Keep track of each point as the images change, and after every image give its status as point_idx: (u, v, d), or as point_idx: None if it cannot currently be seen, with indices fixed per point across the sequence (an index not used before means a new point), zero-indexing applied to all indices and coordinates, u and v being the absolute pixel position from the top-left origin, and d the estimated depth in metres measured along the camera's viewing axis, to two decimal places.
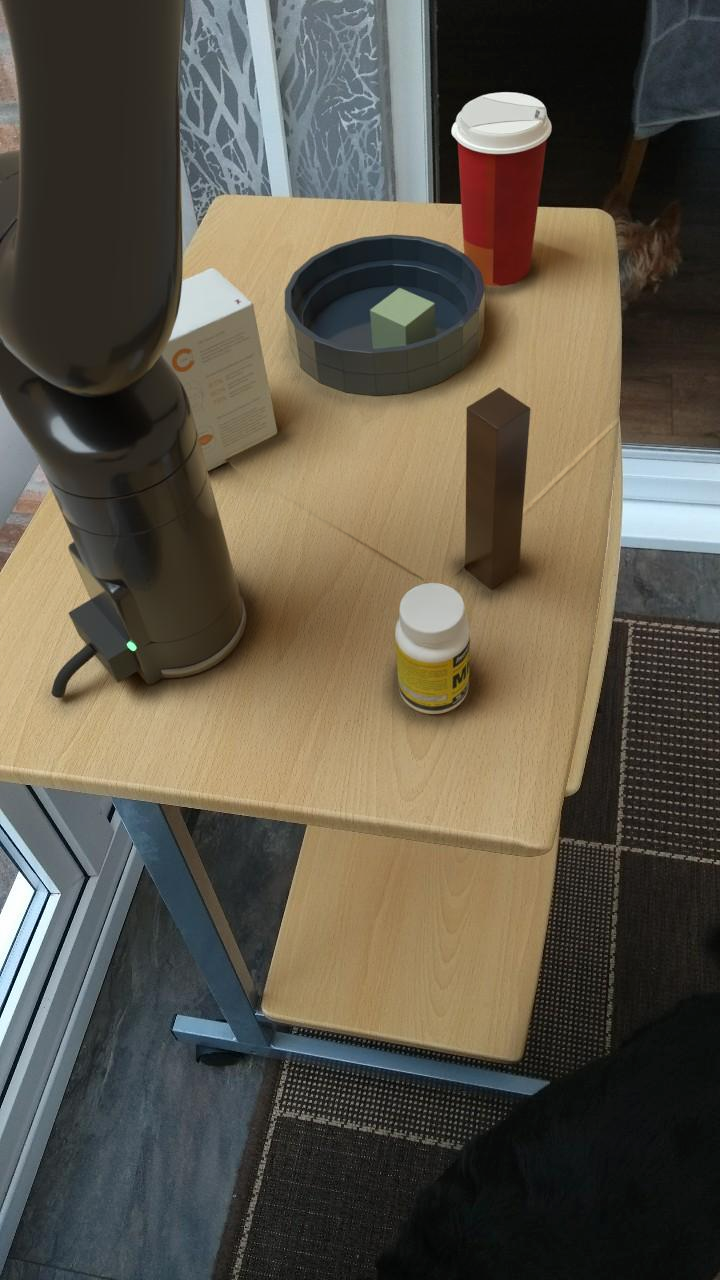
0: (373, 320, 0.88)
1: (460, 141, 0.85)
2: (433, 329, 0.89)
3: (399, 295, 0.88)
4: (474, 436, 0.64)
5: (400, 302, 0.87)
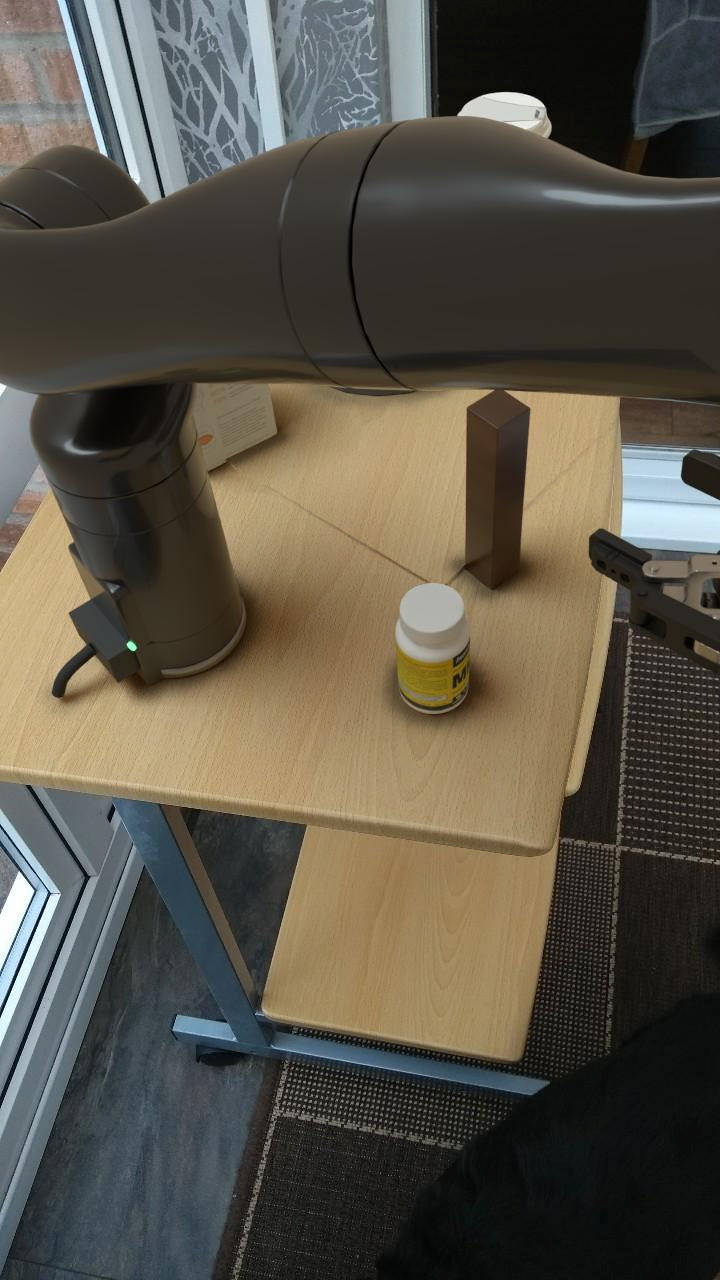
0: None
1: None
2: None
3: None
4: (474, 436, 0.64)
5: None
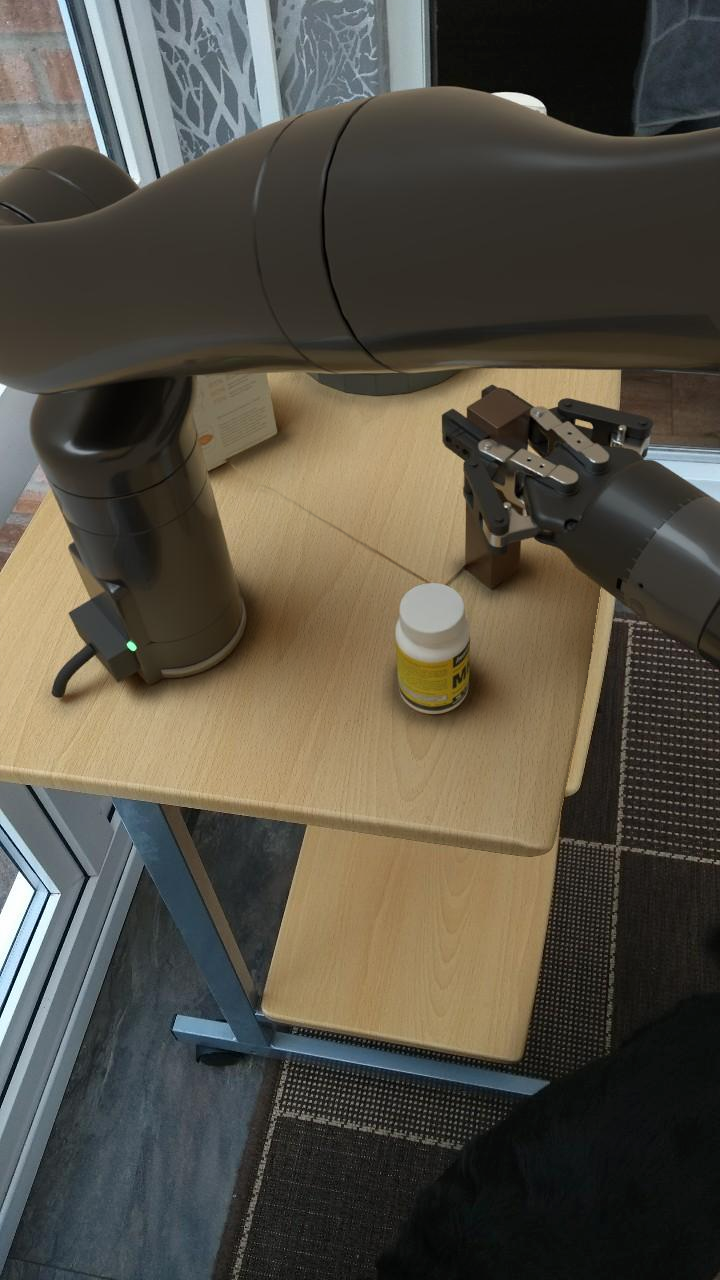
0: None
1: None
2: None
3: None
4: None
5: None
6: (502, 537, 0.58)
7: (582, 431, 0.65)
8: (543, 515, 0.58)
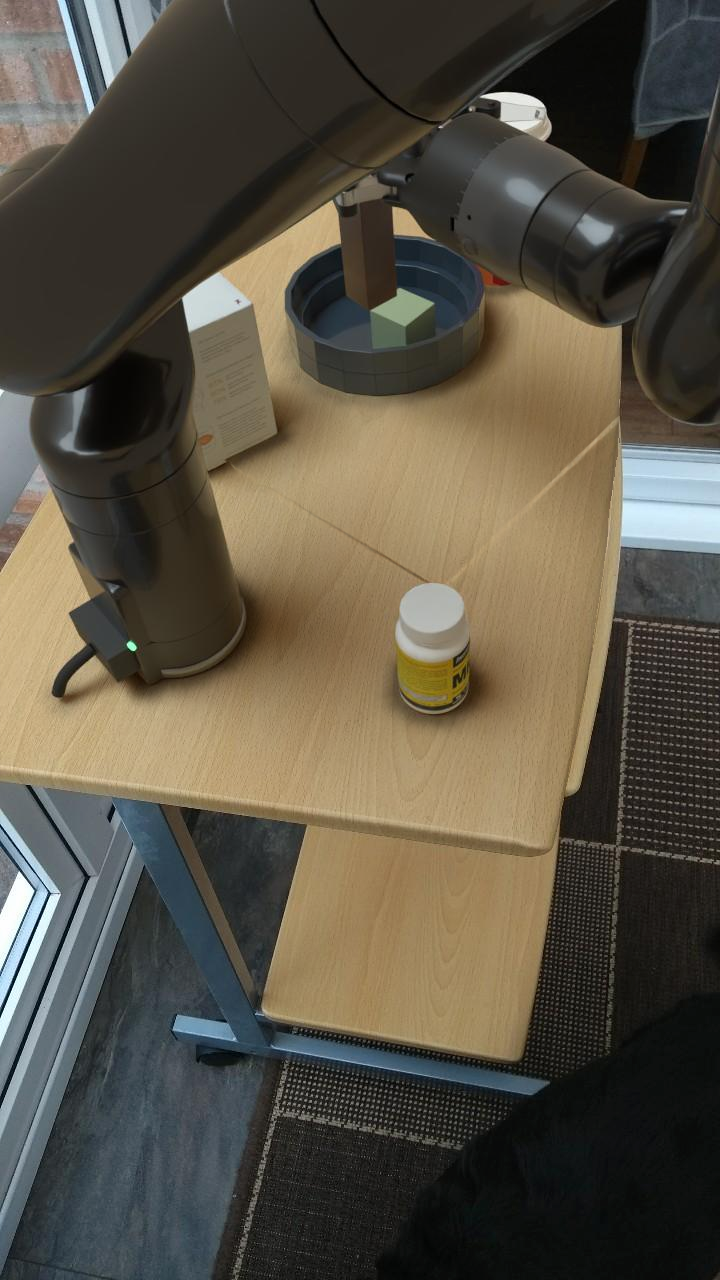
0: (373, 320, 0.88)
1: None
2: (433, 329, 0.89)
3: (399, 295, 0.88)
4: None
5: (400, 302, 0.87)
6: (348, 193, 0.61)
7: None
8: (386, 171, 0.61)
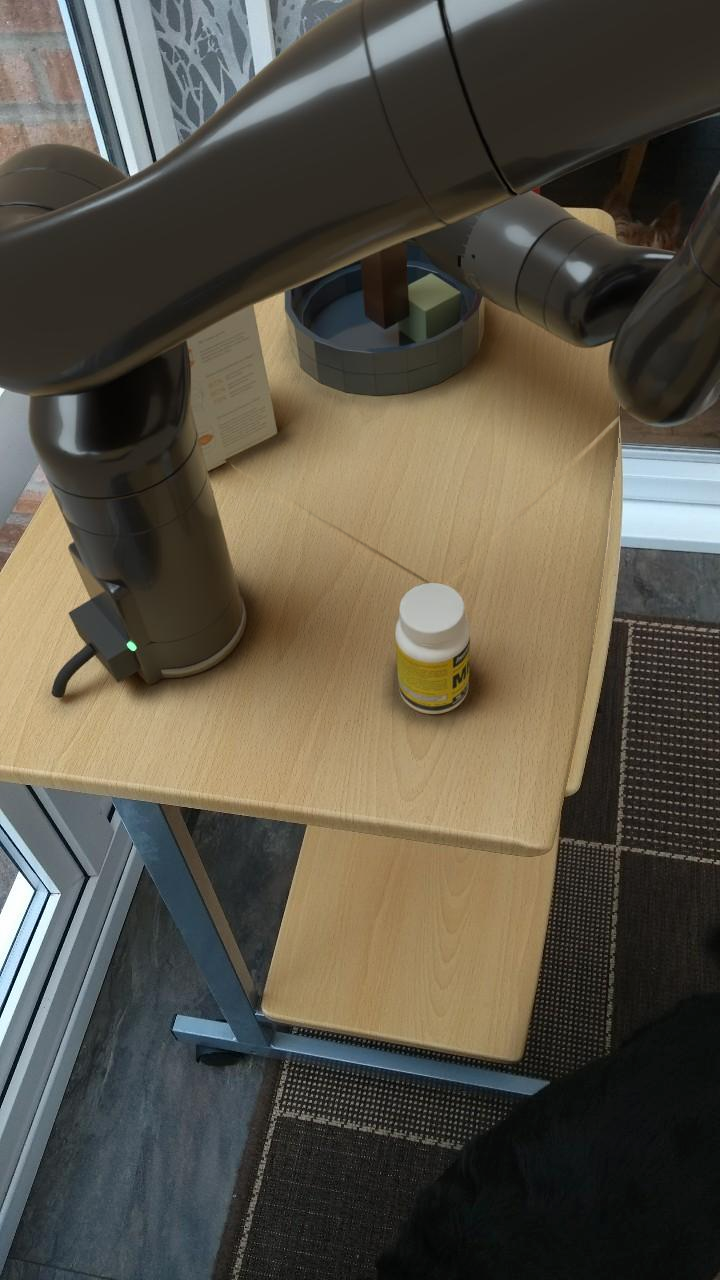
0: None
1: None
2: (458, 318, 0.89)
3: (428, 281, 0.89)
4: None
5: (427, 287, 0.88)
6: None
7: None
8: None
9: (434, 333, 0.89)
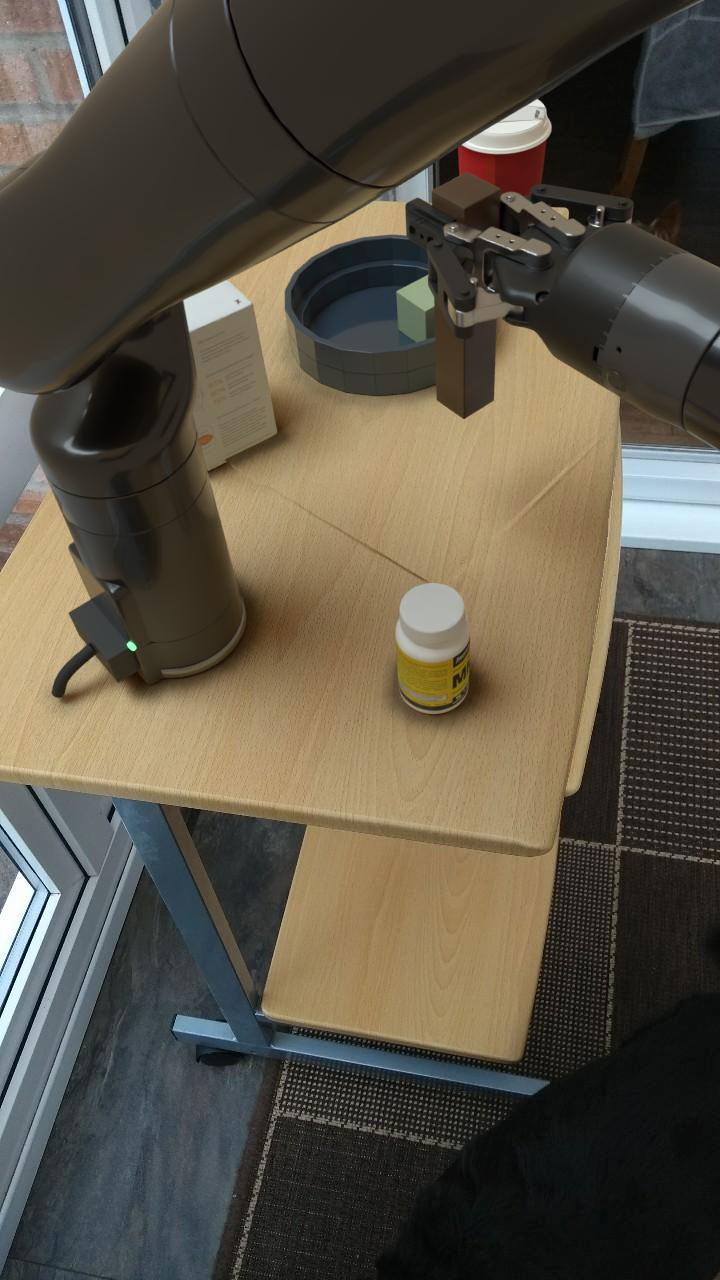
0: (399, 302, 0.89)
1: None
2: None
3: None
4: None
5: (427, 287, 0.88)
6: (468, 314, 0.53)
7: None
8: (513, 288, 0.53)
9: (434, 333, 0.89)
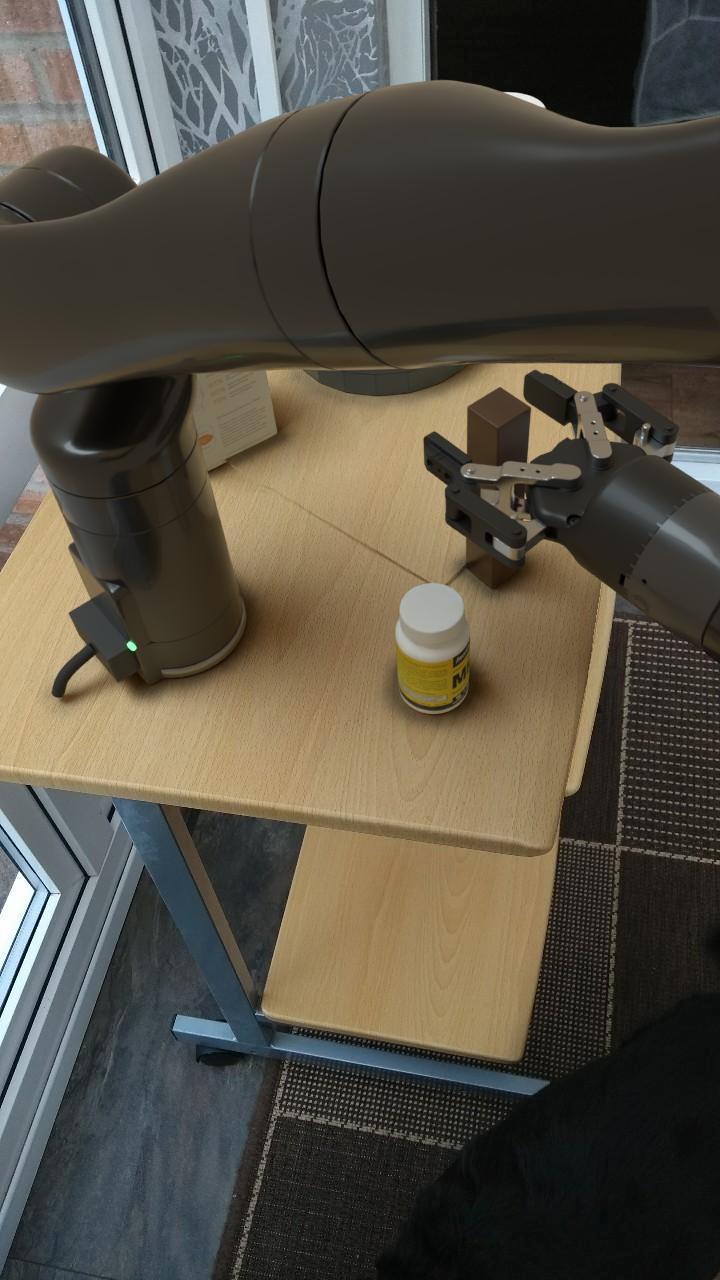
0: None
1: None
2: None
3: None
4: (475, 435, 0.64)
5: None
6: (524, 548, 0.57)
7: (622, 421, 0.64)
8: (551, 513, 0.57)
9: None
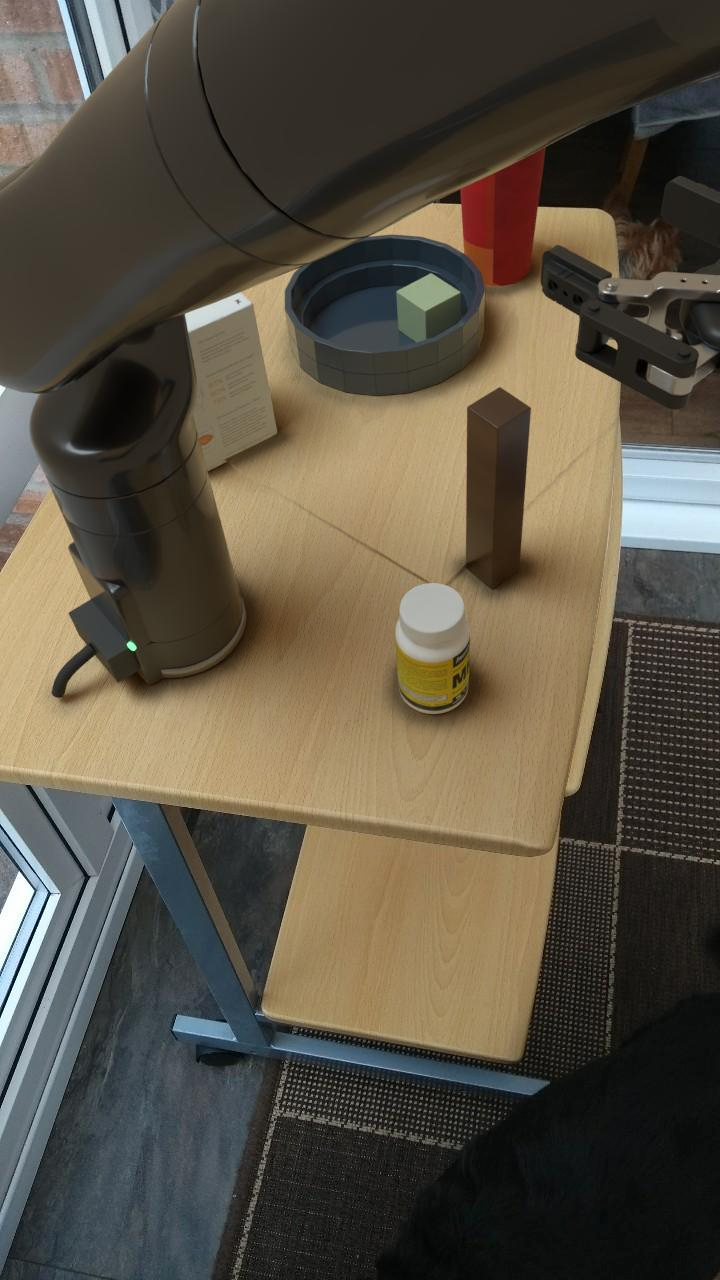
0: (399, 302, 0.89)
1: None
2: (458, 318, 0.89)
3: (428, 281, 0.89)
4: (475, 435, 0.64)
5: (427, 287, 0.88)
6: (692, 377, 0.43)
7: None
8: None
9: (434, 333, 0.89)
